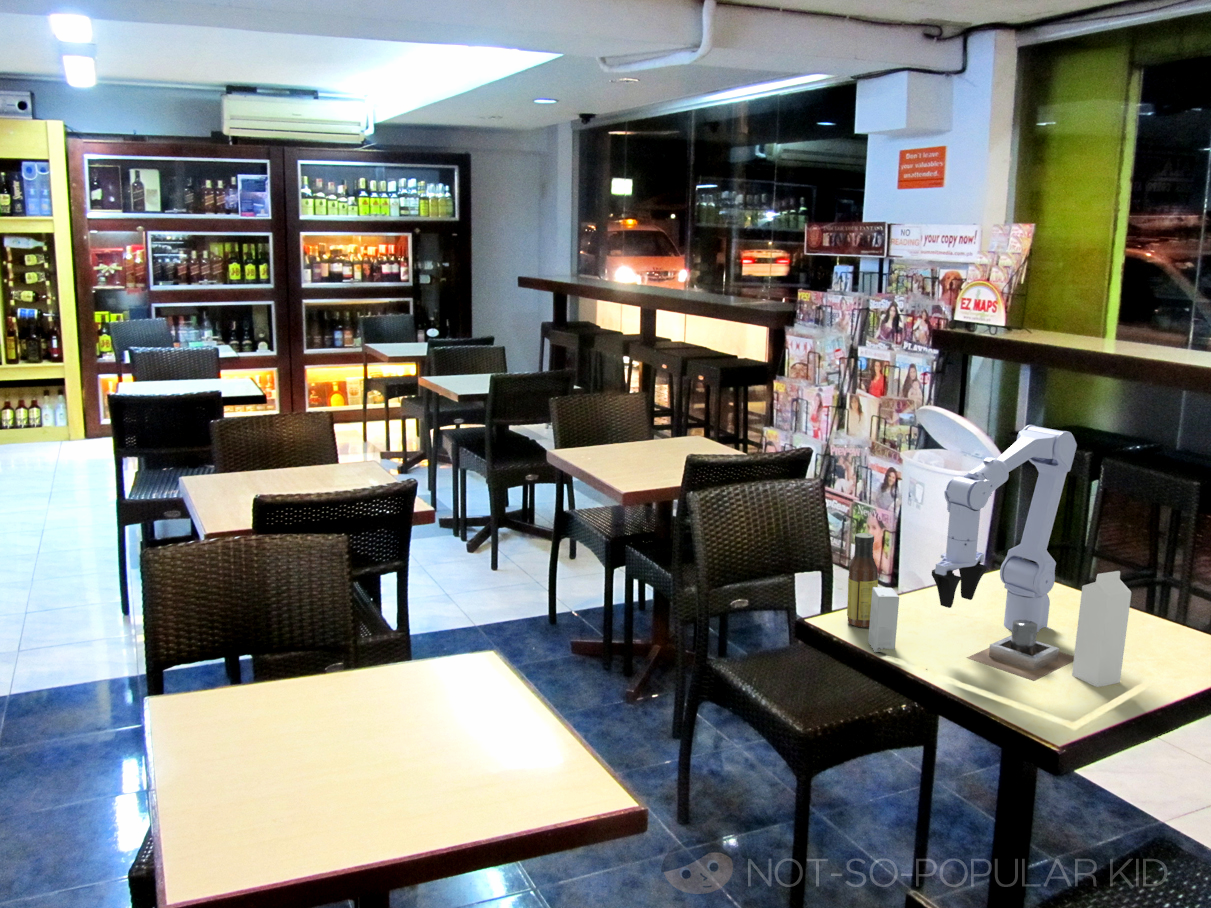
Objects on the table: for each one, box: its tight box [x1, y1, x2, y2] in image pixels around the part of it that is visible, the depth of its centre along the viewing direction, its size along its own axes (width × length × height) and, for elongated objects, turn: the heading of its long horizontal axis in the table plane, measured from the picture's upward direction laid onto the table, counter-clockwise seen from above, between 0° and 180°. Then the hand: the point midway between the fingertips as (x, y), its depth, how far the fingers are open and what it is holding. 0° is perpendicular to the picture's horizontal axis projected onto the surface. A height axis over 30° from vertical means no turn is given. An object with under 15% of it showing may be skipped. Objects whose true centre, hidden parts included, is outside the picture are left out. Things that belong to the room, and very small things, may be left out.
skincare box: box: [867, 586, 900, 653], centre depth 214 cm, size 6×4×12 cm
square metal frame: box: [989, 634, 1060, 671], centre depth 209 cm, size 9×9×2 cm
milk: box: [1071, 570, 1132, 688], centre depth 198 cm, size 6×6×22 cm
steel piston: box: [1011, 620, 1038, 656], centre depth 209 cm, size 4×4×7 cm
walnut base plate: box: [966, 647, 1074, 682], centre depth 209 cm, size 18×14×1 cm
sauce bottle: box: [846, 532, 879, 629], centre depth 227 cm, size 7×6×20 cm
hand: (956, 602), depth 212 cm, fingers open, 7 cm apart
